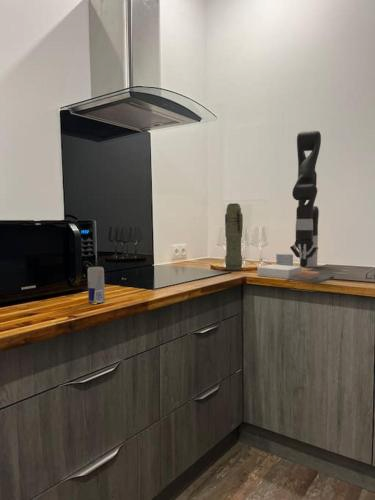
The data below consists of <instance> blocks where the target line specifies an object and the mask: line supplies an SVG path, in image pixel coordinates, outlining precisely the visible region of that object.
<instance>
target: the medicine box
mask: <svg viewBox="0 0 375 500" xmlns="http://www.w3.org/2000/svg"><path fill="white" fill-rule="evenodd" d="M275 258H276V259H275V260H276V263H275V265H287V266H294V255H293V253H276V257H275Z"/></svg>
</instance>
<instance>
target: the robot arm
mask: <svg viewBox="0 0 375 500" xmlns="http://www.w3.org/2000/svg"><path fill="white" fill-rule="evenodd" d="M321 143H322V135H321V132H320V131H319V130H309V131H308V130H307V131H305V130H304V131H299V132H298V133H297V136H296V151H297V166H298V167H297V180H296V181H295V182H296V183H295V184H294V186H293V189H292V197H293V199H294V200H295V201H298V205H297V207H296V220H295V241H294V244H293V245H290V251H292V254H294V256H295V257H296V258H299V267H302V268H317V267H318V252H319V251H318V250H319V247H318V245H319V244H318V243H319V242H318V241H319V216H320V212H319V211H320V210H319V207H318V206H316V205H315V202H316V201H315V200H316V198H317V194H318V188H317V178H318V174H317V172H316V166H317V162H318V158H319V153H320V151H321V150H320V149H321ZM309 151H310V153H309V155H308V156H307V155H306V154H305V152H309ZM306 202H307V203H306Z"/></svg>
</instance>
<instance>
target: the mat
mask: <svg viewBox="0 0 375 500" xmlns="http://www.w3.org/2000/svg"><path fill="white" fill-rule="evenodd" d="M331 277H334V278H335V276H334V275H328V274H326V275H325V274H319V277H316V278H313V279H306V278H298V275H297V276H294V277H291V278H288V279H287V280H288V281H296V282H304V283H305V282H307V283H313V284H315V283H316V284H319V283H323V282H326V281H328V280H330V279H329V278H331ZM327 279H328V280H327ZM331 279H332V278H331Z"/></svg>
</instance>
